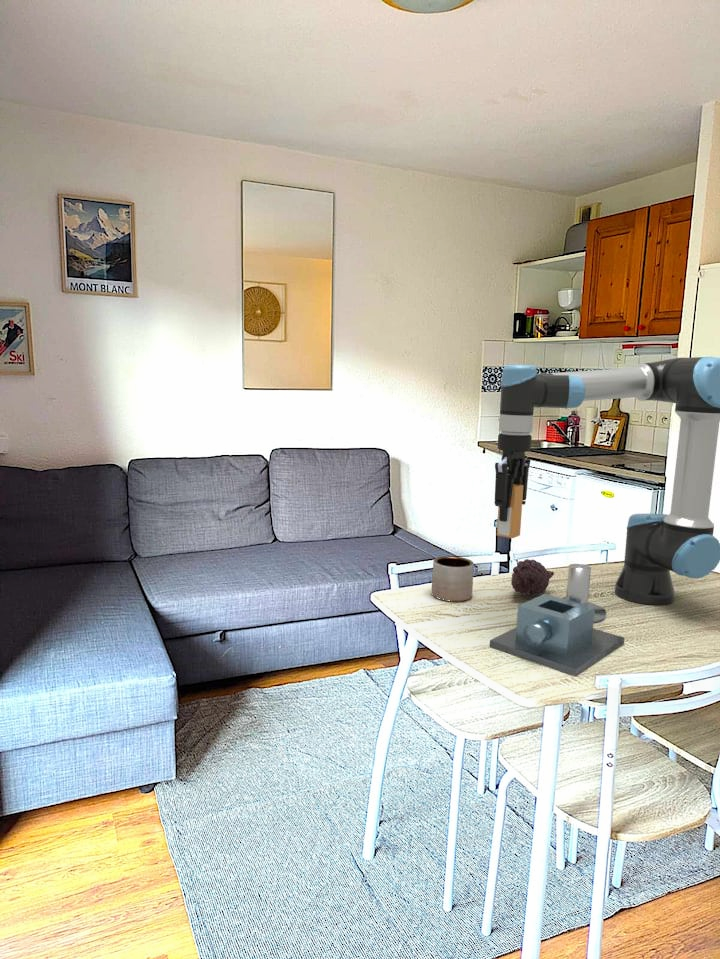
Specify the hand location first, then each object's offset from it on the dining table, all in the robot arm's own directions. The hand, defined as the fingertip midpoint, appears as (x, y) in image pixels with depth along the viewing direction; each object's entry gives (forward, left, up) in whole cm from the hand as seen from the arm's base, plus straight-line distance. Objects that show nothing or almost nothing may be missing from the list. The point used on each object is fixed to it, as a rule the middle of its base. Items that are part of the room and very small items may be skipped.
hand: (508, 532), depth 159 cm
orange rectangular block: (0, 0, -1) cm, 1 cm away
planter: (-8, -21, -23) cm, 32 cm away
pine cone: (-24, -7, -23) cm, 34 cm away
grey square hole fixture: (+1, +15, -23) cm, 27 cm away
